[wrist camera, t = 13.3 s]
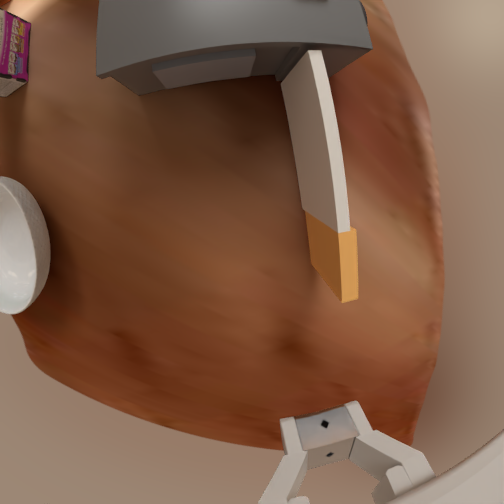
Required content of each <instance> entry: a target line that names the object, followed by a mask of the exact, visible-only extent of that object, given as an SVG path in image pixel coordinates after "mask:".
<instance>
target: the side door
mask: <svg viewBox="0 0 504 504" xmlns="http://www.w3.org/2000/svg"><path fill="white" fill-rule="evenodd" d="M281 88H282V93H283V98H284V103H285V108H286V113H287V118H288V123H289V129H290V134H291V140H292V146H293V152H294V157H295V164H296V170H297V176H298V183H299V189H300V196H301V203H302V209H303V210H305V215H306V223H307V231H308V240H309V248H310V257H311V264H312V265H313V267H314V268H315V269H316V270H317V272H318V273H319V274H320V275H321V277H322V278H323V279H324V281H325V282H326V283H327V284H328V286H329V287H330V288H331V289H332V291H333V292H334V293H335V295H336V296H337V297H338V298H339V300H340V301H341V302H342V303H344V302H348V301H351V300H355V299H358V258H357V237H356V229H354V228H353V227H351V226H350V221H349V209H348V199H347V189H346V180H345V172H344V165H343V157H342V150H341V144H340V137H339V131H338V126H337V120H336V114H335V109H334V104H333V99H332V94H331V90H330V85H329V80H328V76H327V72H326V68H325V64H324V60H323V56H322V52H321V50H308V51H307V52H306V53H305V54H304V56H303V57H302V58H301V59H300V60H299V62H298V63H297V64H296V65H295V67H294V68H293V69H292V70H291V71H290V73H289V74H288V75H287V76H286V78H285V79H284V80H283V81H282V83H281Z"/></svg>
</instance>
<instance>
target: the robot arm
mask: <svg viewBox="0 0 504 504" xmlns="http://www.w3.org/2000/svg"><path fill="white" fill-rule="evenodd" d="M280 429H281V437H282V443H283V448H284V453H285V455H284V456H283V458H282V460H281V462H280V464H279V465H278V467H277V469H276V471H275V473H274V475H273V477H272V479H271V481H270V483H269V484H268V486H267V488H266V490H265V492H264V493H263V495H262V497H261V499H260V500H259V502H258V504H310V502H309V499H308V498H307V497H305V496H301V497H296V495H297V493H298V491H299V488H300V486H301V484H302V481H303V479H304V476H305V474H306V471H307V470H308V469H312V468H316V467H319V466H323V465H326V464H330V463H334V462H338V461H342V460H345V459H349V460H350V461H352V462H353V463H354V464H356V465H357V466H359V467H360V468H361V469H363V470H364V471H366V472H367V473H369V474H370V475H372V476H373V477H375V478H376V479H378V480H379V481H380V482H379V484H378V485H377V486H376V488H375V489H374V491H373V492H372V496H373V499H374V502H375V504H504V429H503V430H502V431H501V432H499V433H498V434H497V435H496V436H495V437H494V438H492V439H491V440H490V441H489V442H487V443H486V444H485V445H483V446H482V447H481V448H480V449H478V450H477V451H475V452H474V453H473V454H471V455H470V456H468V457H467V458H465V459H464V460H463V461H461V462H460V463H458V464H457V465H455V466H453V467H452V468H450V469H449V470H447V471H446V472H444V473H442V474H441V475H439V476H437V477H436V476H435V474H434V473H433V470H432V469H431V467H430V465H429V463H428V462H427V460H426V458H425V456H424V454H423V453H422V452H420V451H418V450H416V449H413V448H411V447H409V446H407V445H405V444H403V443H401V442H399V441H397V440H395V439H393V438H391V437H389V436H387V435H385V434H383V433H381V432H380V431H378V430H375V431H373V430H372V428H371V426H370V424H369V422H368V420H367V418H366V416H365V414H364V412H363V410H362V408H361V406H360V404H359V403H358V402H357V401H352V402H349V403H346V404H341V405H338V406H334V407H331V408H327V409H324V410H320V411H317V412H313V413H308V414H304V415H299V416H294V417H288V418H283V419H280Z"/></svg>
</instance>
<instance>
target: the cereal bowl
mask: <svg viewBox="0 0 504 504" xmlns="http://www.w3.org/2000/svg"><path fill="white" fill-rule="evenodd" d="M50 253H51V251H50V238H49V234H48V229H47V226H46V222H45V219H44V216H43V213H42V211H41V209H40V207H39V205H38V203H37V202H36V199H35V198H34V197H33V195H32V194H31V193H30V192H29V190H28V189H26V188H25V186H23V185H22V184H20V183H19V182H17V181H16V180H13V179H12V178H7V177H3V176H1V177H0V312H3V313H6V314H17V313H20V312H22V311H24V310H25V309H26V308H28V307H29V305H31V304H32V303H33V302H34V301H35V299H36V298H37V297H38V295H39V294H40V293H41V291H42V289H43V288H44V285H45V283H46V280H47V277H48V273H49V267H50Z"/></svg>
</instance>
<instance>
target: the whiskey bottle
mask: <svg viewBox="0 0 504 504" xmlns="http://www.w3.org/2000/svg"><path fill="white" fill-rule="evenodd" d="M9 1H10V0H0V6H2V5H4V4H6V3H7V2H9Z"/></svg>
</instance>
